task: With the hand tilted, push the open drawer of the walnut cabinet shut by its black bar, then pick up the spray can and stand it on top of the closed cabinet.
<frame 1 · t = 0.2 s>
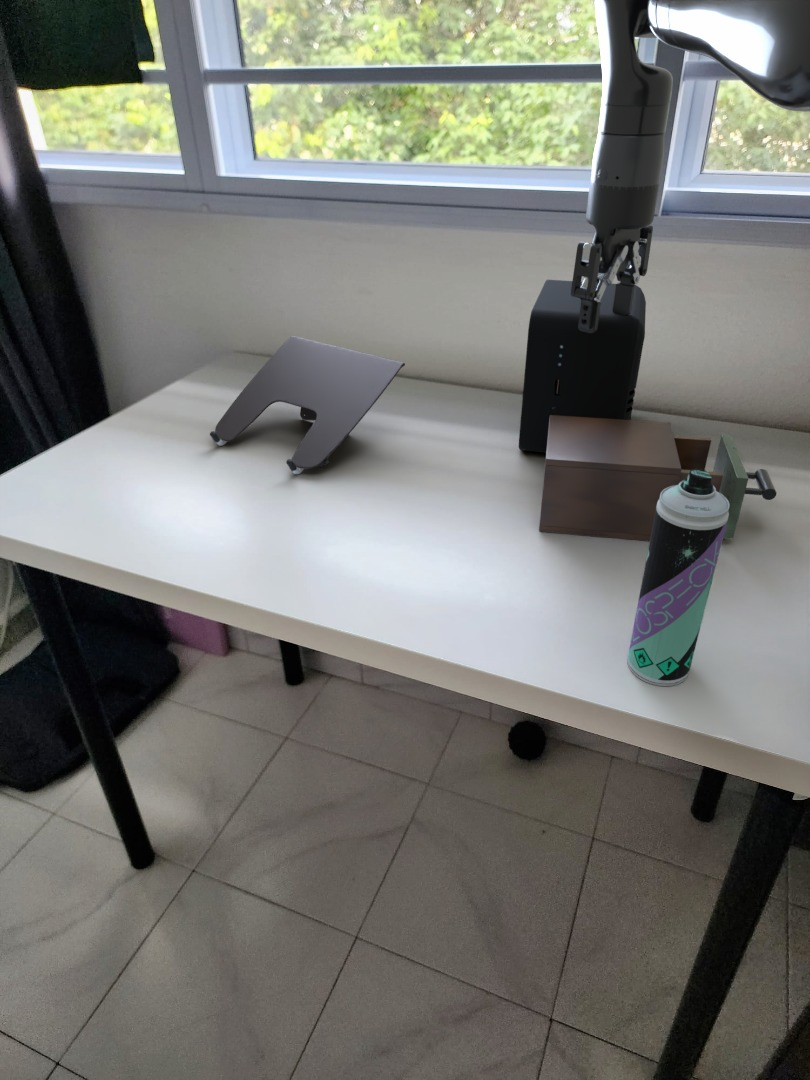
hand: (604, 322, 92), 20 cm above the table, tool pointing down, fingers open, 8 cm apart
black nas enclosure: (575, 433, 112), on the table, touching gripper
cabinet: (600, 510, 93), on the table
laptop tray: (302, 438, 113), on the table
spray can: (657, 667, 69), on the table
drawer: (691, 482, 89), point 5 cm above the table, slide at 6.0 cm
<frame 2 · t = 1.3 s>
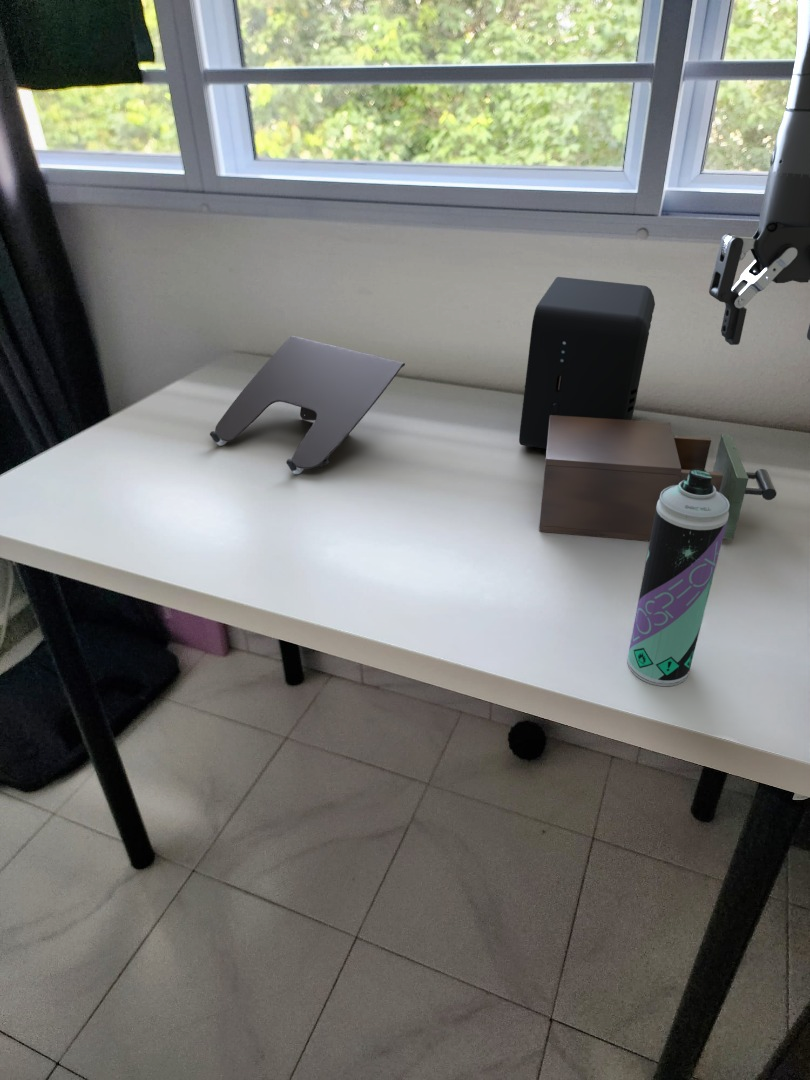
hand: (773, 342, 77), 22 cm above the table, tool pointing down, fingers open, 8 cm apart
black nas enclosure: (578, 431, 113), on the table
everything else where it was.
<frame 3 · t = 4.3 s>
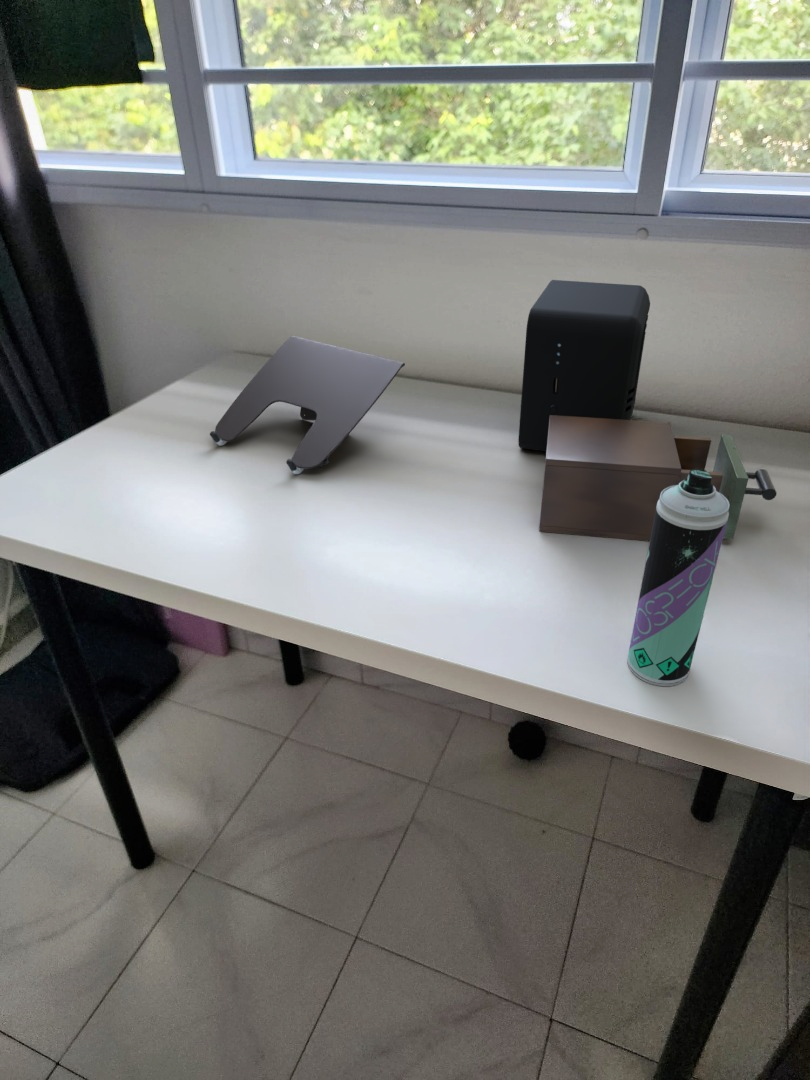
nothing on the table moved.
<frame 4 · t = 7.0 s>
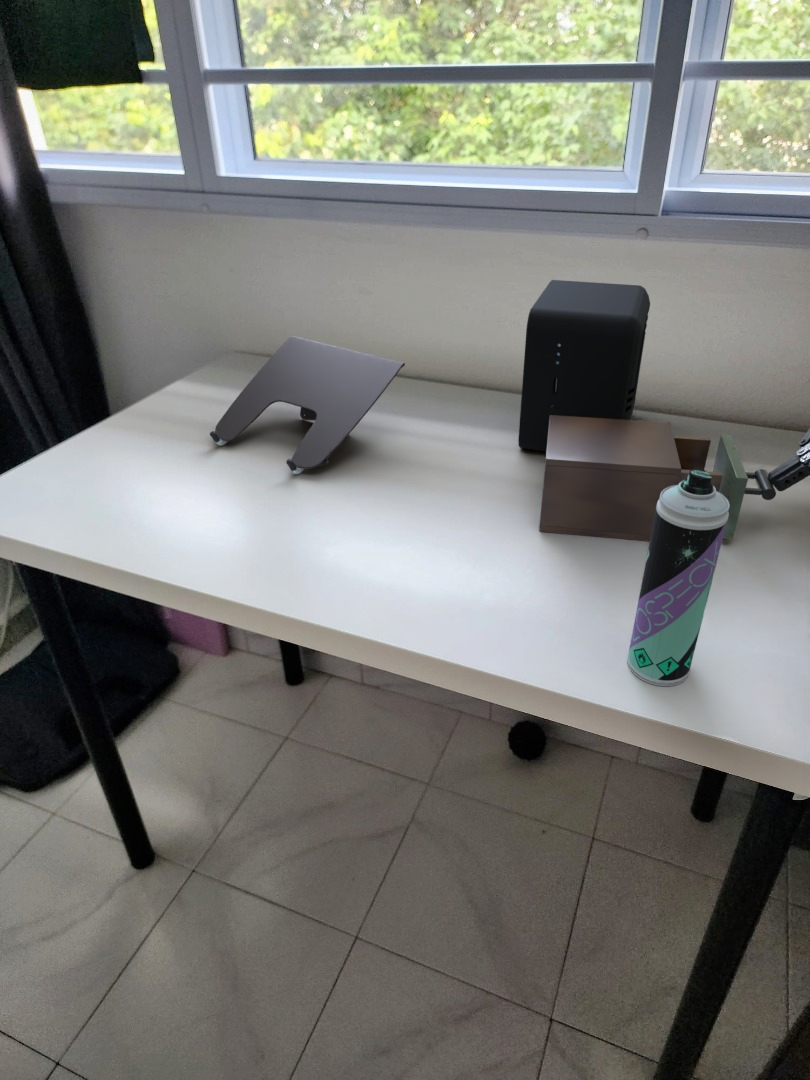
hand: (773, 483, 87), 5 cm above the table, tool tilted 45°, fingers closed
drawer: (690, 482, 89), point 5 cm above the table, slide at 5.9 cm, touching gripper
everything else where it was.
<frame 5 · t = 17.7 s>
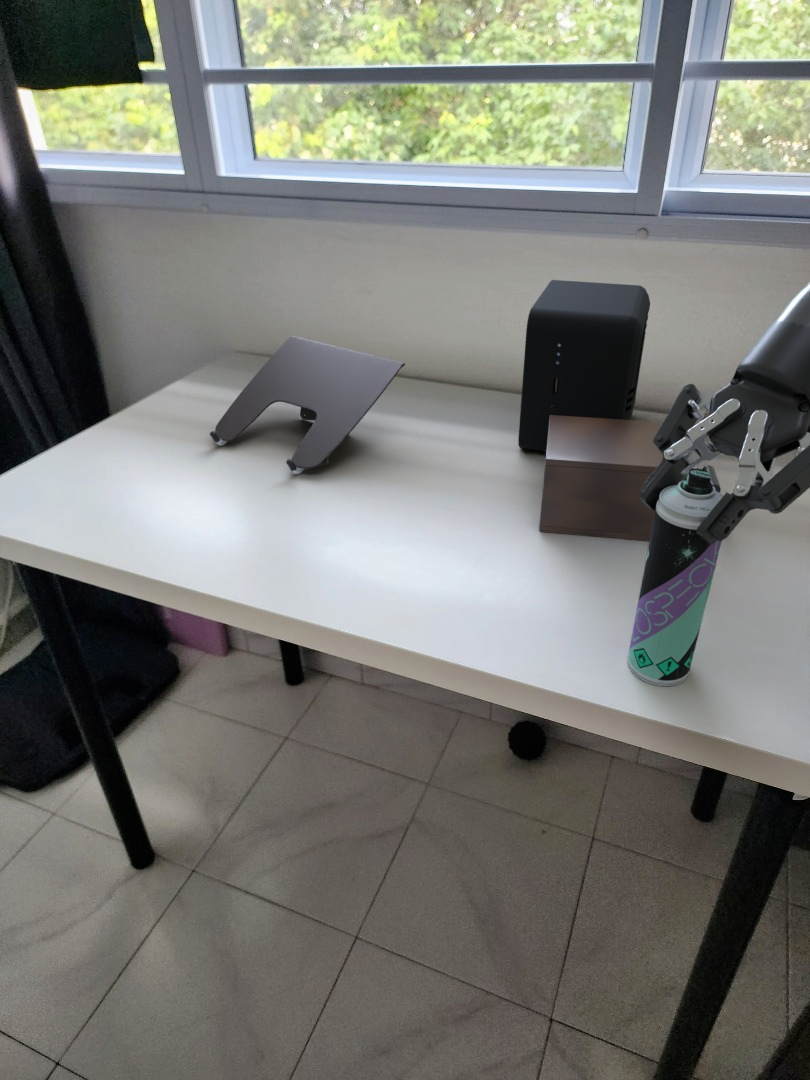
hand: (674, 520, 60), 16 cm above the table, tool tilted 45°, fingers closed on spray can, 5 cm apart
spray can: (657, 667, 69), on the table, touching gripper
drawer: (638, 478, 90), point 5 cm above the table, slide at 0.0 cm, touching cabinet
everything else where it was.
when the fingers open (26 cm above the table, at t = 26.1 s): spray can stays where it is, resting on cabinet.
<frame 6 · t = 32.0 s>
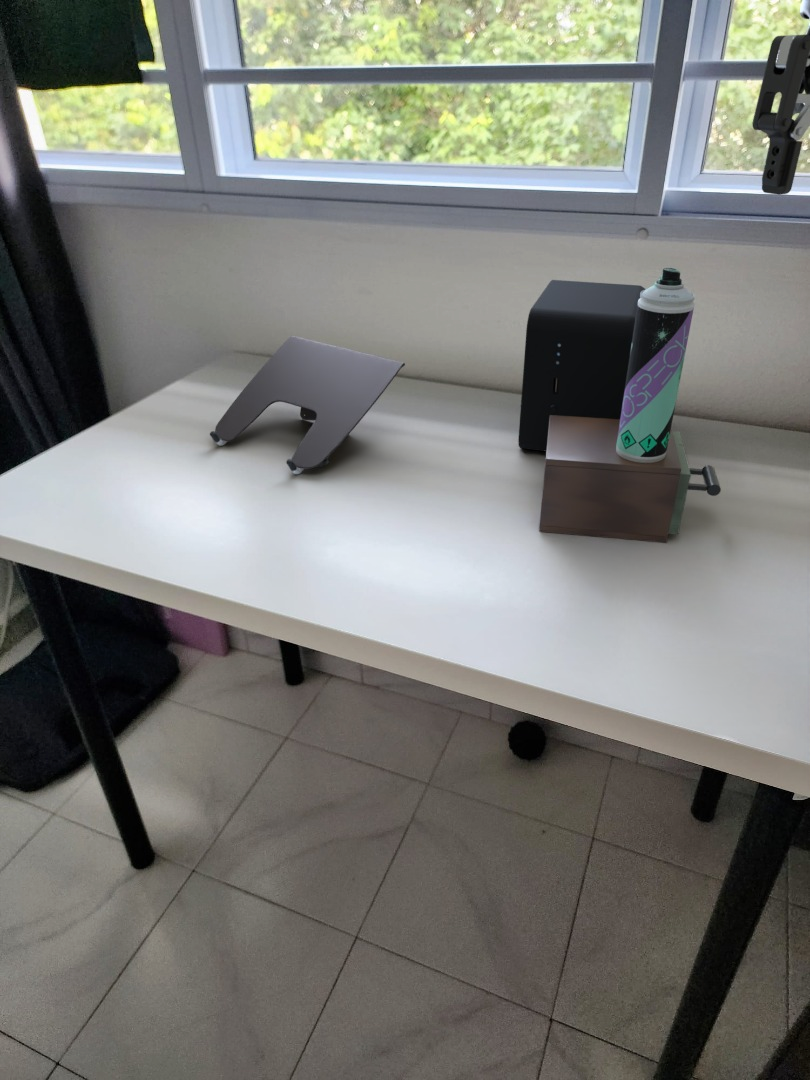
spray can: (640, 453, 85), point 9 cm above the table, touching cabinet
everything else where it was.
at the end: drawer slide at 0.0 cm; spray can inside the target area on the cabinet (4.3 cm from its centre), point 9.4 cm above the cabinet's base; spray can tilted 0° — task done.
